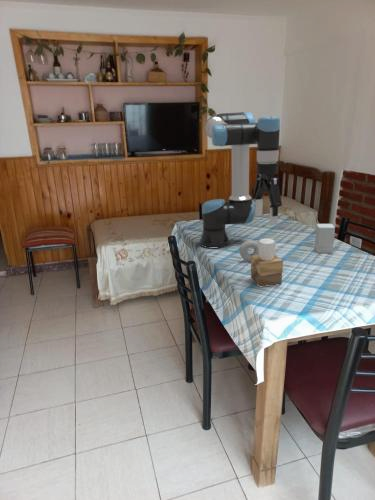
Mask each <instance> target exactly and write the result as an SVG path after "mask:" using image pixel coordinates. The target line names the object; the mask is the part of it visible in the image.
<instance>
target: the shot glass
mask: <svg viewBox="0 0 375 500" xmlns="http://www.w3.org/2000/svg"><path fill="white" fill-rule="evenodd" d="M257 242H258V250H259V258H260V259H261V260H265V261H269V260H272V259H274V255H275V252H276V242H277V241H276V239H275V238H272V237H262V238H259V239H258V240H257Z"/></svg>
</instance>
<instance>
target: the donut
mask: <svg viewBox="0 0 375 500" xmlns="http://www.w3.org/2000/svg"><path fill="white" fill-rule="evenodd" d="M251 248H252V249H253V252H252V253H251V254H250V253H248V250H249V249H251ZM239 255H240V257H241V259H243V260H244V261H245V262H251V256H254V255H259V250H258V241H256V240H252V239H249V240H246V241H245V242H243V243H242V244H241V246H240V248H239Z"/></svg>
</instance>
